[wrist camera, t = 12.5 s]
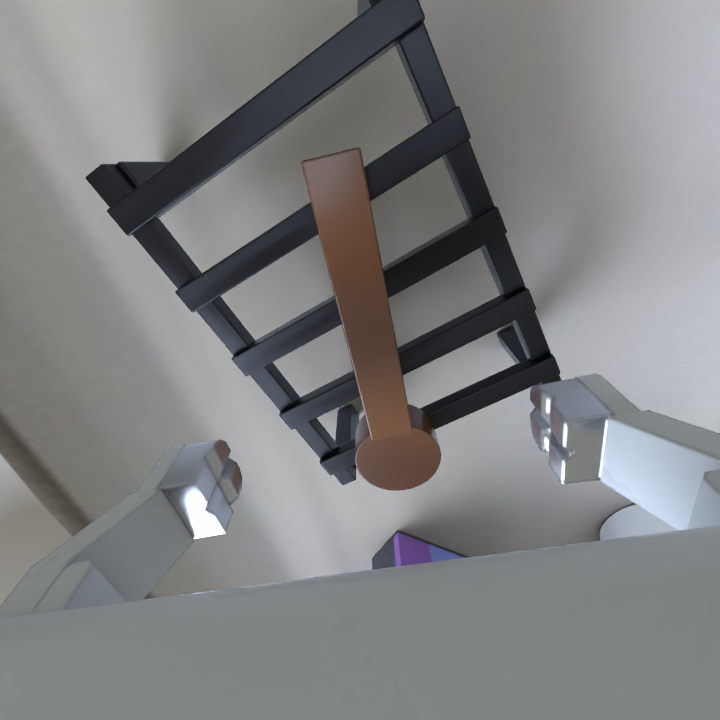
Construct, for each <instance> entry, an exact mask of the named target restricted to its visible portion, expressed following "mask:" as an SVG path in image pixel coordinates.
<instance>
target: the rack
mask: <svg viewBox="0 0 720 720" xmlns="http://www.w3.org/2000/svg"><path fill="white" fill-rule="evenodd" d="M424 19H425V16H424V13H423V10H422V8H421V5H420V3H419V0H358V17H357V18H356V19H354V20H353V21H352V22H350V23H349V24H348V25H347V26H345V27H344V28H343V29H341V30H340V31H339V32H337V33H336V34H335V35H334V36H332V37H331V38H330V39H328V40H327V41H326V42H325V43H323V44H322V45H321V46H319V47H318V48H317V49H315V50H314V51H313V52H312V53H310V54H309V55H308V56H306V57H305V58H304V59H302V60H301V61H300V62H299V63H297V64H296V65H295V66H293V67H292V68H291V69H289V70H288V71H287V72H286V73H284V74H283V75H282V76H280V77H279V78H278V79H276V80H275V81H274V82H273V83H271V84H270V85H269V86H267V87H266V88H265V89H263V90H262V91H261V92H260V93H258V94H257V95H256V96H254V97H253V98H252V99H251V100H249V101H248V102H247V103H245V104H244V105H243V106H241V107H240V108H239V109H238V110H236V111H235V112H234V113H232V114H231V115H230V116H228V117H227V118H226V119H225V120H223V121H222V122H221V123H219V124H218V125H217V126H215V127H214V128H213V129H212V130H210V131H209V132H208V133H206V134H205V135H204V136H202V137H201V138H200V139H199V140H197V141H196V142H195V143H193V144H192V145H191V146H189V147H188V148H187V149H186V150H184V151H183V152H182V153H180V154H179V155H178V156H177V157H175V158H174V159H173V160H171V161H170V162H118V163H117V164H101V165H100V166H99V167H97V168H96V169H95V170H94V171H93V172H91V173H90V174H89V175H88V176H86V179H87V181H88V182H89V183H90V184H91V185H92V187H93V188H94V189H95V190H96V191H97V193H98V194H99V195H100V196H101V197H102V199H103V200H104V201H105V202H106V203H107V204H108V206H109V207H110V208H109V209H108V210H107V212H108V213H109V214H110V216H111V217H112V218H113V219H114V220H115V222H116V223H117V224H118V225H119V226H120V227H121V229H122V230H123V231H124V232H125V233H126V235H128V236H130V235H133V236H134V237H135V238H136V239H137V240H138V242H139V243H140V244H141V245H142V246H143V247H144V249H145V250H146V251H147V252H148V253H149V255H150V256H151V257H152V258H153V259H154V261H155V262H156V263H157V264H158V265H159V267H160V268H161V269H162V270H163V271H164V273H165V274H166V275H167V276H168V277H169V279H170V280H171V281H172V282H173V283H174V284H175V286H176V287H177V288H178V290H176V294H177V295H178V296H179V297H180V299H181V300H182V301H183V302H184V303H185V304H186V306H187V307H188V308H189V309H190V310H191V312H195V311H197V312H198V313H199V314H200V316H201V317H202V318H203V319H204V320H205V322H206V323H207V324H208V325H209V326H210V327H211V329H212V330H213V331H214V332H215V333H216V335H217V336H218V337H219V338H220V339H221V341H222V342H223V343H224V344H225V345H226V347H227V348H228V349H229V350H230V351H231V353H232V354H233V355H234V356H233V358H232V360H233V361H234V363H235V364H236V365H237V366H238V367H239V369H240V370H241V371H242V372H243V373H244V374H245V376H248V375H251V376H252V378H253V379H254V380H255V381H256V382H257V384H258V385H259V386H260V387H261V388H262V390H263V391H264V392H265V393H266V394H267V396H268V397H269V398H270V399H271V400H272V402H273V403H274V404H275V405H276V406H277V408H278V409H279V410H280V414H279V415H280V417H281V418H282V419H283V420H284V421H285V423H286V424H287V425H288V426H289V427H290V429H294V428H295V429H296V430H297V431H298V433H299V434H300V435H301V436H302V437H303V439H304V440H305V441H306V442H307V443H308V445H309V446H310V447H311V448H312V449H313V451H314V452H315V453H316V454H317V455H318V456H319V458H320V464H321V465H322V466H323V468H324V469H325V470H326V471H327V472H328V473H329V475H332V474H334V476H335V477H336V478H337V479H338V480H339V482H340V483H341V484H342V485H344V484H347V483H349V482H351V481H354V480H356V468H357V467H356V463H355V433H356V428H357V425H358V423H359V415H358V413H357V412H356V411H355V409H354V408H353V406H352V405H349V406H347V407H345V408H343V409H341V410H339V411H338V417H337V428H336V440H335V441H334V440H333V438H332V437H331V436H330V435H329V433H328V432H327V431H326V430H325V428H324V427H323V426H322V424H321V423H320V422H319V421H318V419H317V417H319V416H321V415H323V414H325V413H327V412H329V411H331V410H333V409H335V408H337V407H339V406H341V405H343V404H345V403H347V402H349V401H351V400H353V399H355V398H357V397H359V396H360V393H359V389H358V385H357V381H356V377H355V373H354V371H352V372H350V373H348V374H346V375H344V376H342V377H340V378H338V379H336V380H334V381H332V382H330V383H328V384H326V385H324V386H322V387H320V388H318V389H316V390H314V391H313V392H311V393H309V394H307V395H305V396H303V397H301V398H300V397H299V395H298V394H297V393H296V392H295V390H294V389H293V388H292V386H291V385H290V384H289V383H288V381H287V380H286V379H285V378H284V376H283V375H282V374H281V373H280V371H279V370H278V369H277V367H276V366H275V365H274V364H273V361H275V360H277V359H279V358H281V357H282V356H284V355H286V354H288V353H290V352H292V351H293V350H295V349H297V348H299V347H301V346H302V345H304V344H306V343H308V342H310V341H312V340H313V339H315V338H317V337H319V336H321V335H322V334H324V333H326V332H328V331H330V330H331V329H333V328H335V327H337V326H339V325H341V324H342V322H341V318H340V314H339V310H338V307H337V303H336V299H335V295H334V296H333V297H331V298H329V299H327V300H326V301H324V302H322V303H320V304H319V305H317V306H315V307H313V308H312V309H310V310H308V311H306V312H305V313H303V314H301V315H299V316H298V317H296V318H294V319H293V320H291V321H289V322H287V323H286V324H284V325H282V326H280V327H279V328H277V329H275V330H273V331H272V332H270V333H268V334H266V335H265V336H263V337H261V338H260V339H258V340H256V341H255V340H254V338H253V337H252V336H251V335H250V333H249V332H248V331H247V330H246V328H245V327H244V326H243V324H242V323H241V322H240V321H239V319H238V318H237V317H236V316H235V314H234V313H233V312H232V311H231V309H230V308H229V307H228V305H227V304H226V303H225V302H224V300H223V299H222V298H221V297H220V296H221V295H222V294H224V293H225V292H227V291H229V290H230V289H232V288H233V287H235V286H236V285H238V284H240V283H241V282H243V281H244V280H246V279H248V278H249V277H251V276H252V275H254V274H256V273H257V272H259V271H260V270H262V269H264V268H265V267H267V266H268V265H270V264H271V263H273V262H275V261H276V260H278V259H279V258H281V257H283V256H284V255H286V254H287V253H289V252H291V251H292V250H294V249H295V248H297V247H299V246H300V245H302V244H303V243H305V242H306V241H308V240H310V239H311V238H313V237H314V236H316V235H318V234H319V232H318V228H317V224H316V220H315V216H314V212H313V208H312V204H311V202H310V203H309V204H307V205H305V206H304V207H302V208H301V209H299V210H298V211H296V212H295V213H293V214H292V215H290V216H289V217H287V218H286V219H284V220H283V221H281V222H280V223H278V224H277V225H275V226H273V227H272V228H270V229H269V230H267V231H266V232H264V233H263V234H261V235H260V236H258V237H257V238H255V239H254V240H252V241H251V242H249V243H248V244H246V245H245V246H243V247H241V248H240V249H238V250H237V251H235V252H234V253H232V254H231V255H229V256H228V257H226V258H225V259H223V260H222V261H220V262H219V263H217V264H216V265H214V266H213V267H211V268H210V269H208V270H206V271H205V272H203V273H201V271H200V270H199V269H198V268H197V266H196V265H195V264H194V262H193V261H192V260H191V259H190V257H189V256H188V255H187V254H186V252H185V251H184V250H183V249H182V247H181V246H180V245H179V243H178V242H177V241H176V240H175V238H174V237H173V236H172V235H171V233H170V232H169V231H168V230H167V228H166V227H165V226H164V224H163V223H162V222H161V221H160V219H159V217H160V216H162V215H163V214H165V213H166V212H167V211H169V210H170V209H171V208H173V207H174V206H175V205H177V204H178V203H180V202H181V201H182V200H184V199H185V198H186V197H188V196H189V195H191V194H192V193H193V192H195V191H196V190H197V189H199V188H200V187H202V186H203V185H204V184H206V183H207V182H208V181H210V180H211V179H212V178H214V177H215V176H217V175H218V174H219V173H221V172H222V171H223V170H225V169H226V168H228V167H229V166H230V165H232V164H233V163H234V162H236V161H237V160H239V159H240V158H241V157H243V156H244V155H245V154H247V153H248V152H250V151H251V150H252V149H254V148H255V147H256V146H258V145H259V144H260V143H262V142H263V141H265V140H266V139H267V138H269V137H270V136H271V135H273V134H274V133H276V132H277V131H278V130H280V129H281V128H282V127H284V126H285V125H287V124H288V123H289V122H291V121H292V120H293V119H295V118H296V117H298V116H299V115H300V114H302V113H303V112H304V111H306V110H307V109H308V108H310V107H311V106H313V105H314V104H315V103H317V102H318V101H319V100H321V99H322V98H324V97H325V96H326V95H328V94H329V93H330V92H332V91H333V90H335V89H336V88H337V87H339V86H340V85H341V84H343V83H344V82H346V81H347V80H348V79H350V78H351V77H352V76H354V75H355V74H356V73H358V72H359V71H361V70H362V69H363V68H365V67H366V66H367V65H369V64H370V63H372V62H373V61H374V60H376V59H377V58H378V57H380V56H381V55H383V54H384V53H385V52H387V51H388V50H389V49H391V48H392V47H393V46H396V49H397V51H398V53H399V56H400V58H401V61H402V63H403V65H404V68H405V70H406V72H407V75H408V77H409V79H410V82H411V84H412V87H413V89H414V91H415V94H416V96H417V98H418V101H419V103H420V106H421V108H422V110H423V113H424V115H425V117H426V120H427V122H428V125H427V126H426V127H424V128H423V129H421V130H420V131H418V132H417V133H415V134H414V135H412V136H411V137H409V138H407V139H406V140H404V141H403V142H401V143H400V144H398V145H397V146H395V147H394V148H392V149H391V150H389V151H388V152H386V153H385V154H383V155H382V156H380V157H379V158H377V159H376V160H374V161H372V162H371V163H369V164H368V165H366V166H365V167H364V171H365V176H366V182H367V187H368V193H369V198H370V201H372V200H373V199H375V198H376V197H378V196H380V195H381V194H383V193H384V192H386V191H388V190H389V189H391V188H392V187H394V186H396V185H397V184H399V183H400V182H402V181H404V180H405V179H407V178H408V177H410V176H411V175H413V174H415V173H416V172H418V171H419V170H421V169H423V168H424V167H426V166H427V165H429V164H431V163H432V162H434V161H435V160H437V159H439V158H440V157H442V158H443V160H444V162H445V165H446V167H447V170H448V172H449V174H450V177H451V179H452V181H453V184H454V186H455V189H456V191H457V193H458V196H459V198H460V200H461V203H462V205H463V208H464V210H465V212H466V215H467V217H468V219H466V220H465V221H463V222H461V223H459V224H458V225H456V226H454V227H453V228H451V229H449V230H447V231H446V232H444V233H442V234H440V235H439V236H437V237H435V238H433V239H432V240H430V241H428V242H426V243H425V244H423V245H421V246H419V247H418V248H416V249H414V250H413V251H411V252H409V253H407V254H406V255H404V256H402V257H400V258H399V259H397V260H395V261H393V262H392V263H390V264H388V265H386V266H385V267H383V274H384V279H385V284H386V290H387V295H388V298H390V297H391V296H393V295H395V294H397V293H399V292H400V291H402V290H404V289H406V288H408V287H410V286H411V285H413V284H415V283H417V282H419V281H420V280H422V279H424V278H426V277H428V276H430V275H431V274H433V273H435V272H437V271H439V270H440V269H442V268H444V267H446V266H448V265H450V264H451V263H453V262H455V261H457V260H459V259H460V258H462V257H464V256H466V255H468V254H469V253H471V252H473V251H475V250H477V249H479V248H481V250H482V253H483V255H484V257H485V260H486V262H487V264H488V267H489V269H490V272H491V274H492V276H493V279H494V281H495V283H496V286H497V288H498V291H499V293H500V296H498V297H496V298H494V299H492V300H490V301H489V302H487V303H485V304H483V305H481V306H479V307H477V308H475V309H473V310H471V311H469V312H467V313H465V314H463V315H461V316H459V317H457V318H455V319H453V320H451V321H449V322H447V323H445V324H444V325H442V326H440V327H438V328H436V329H434V330H432V331H430V332H428V333H426V334H424V335H422V336H420V337H418V338H416V339H414V340H412V341H410V342H408V343H406V344H404V345H402V346H401V347H399V348H397V349H398V355H399V360H400V365H401V371H402V375H404V374H406V373H408V372H410V371H412V370H414V369H417V368H419V367H421V366H423V365H425V364H427V363H429V362H431V361H433V360H435V359H437V358H439V357H441V356H443V355H445V354H447V353H449V352H451V351H453V350H455V349H457V348H459V347H461V346H463V345H465V344H468V343H470V342H472V341H474V340H476V339H478V338H480V337H482V336H484V335H486V334H488V333H490V332H492V331H494V330H496V329H498V328H500V327H502V326H504V325H506V324H508V323H510V322H512V324H513V326H512V327H510V328H508V329H505V330H503V331H501V332H499V333H498V334H497V335H498V337H499V339H500V342H501V344H502V346H503V348H504V349H505V350H506V351H507V353H508V354H509V355H510V357H511V358H512V359H513V360H514V362H515V363H516V365H514V366H511V367H509V368H507V369H505V370H503V371H501V372H498V373H496V374H494V375H492V376H490V377H488V378H485V379H483V380H481V381H479V382H477V383H475V384H472V385H470V386H468V387H466V388H464V389H462V390H459V391H457V392H455V393H453V394H451V395H449V396H446V397H444V398H442V399H440V400H438V401H435V402H433V403H431V404H429V405H427V406H425V407H422V408H420V410H422V411H423V412H424V413H426V414H427V415H428V417H429V418H430V419H431V421H432V423H433V426H434V429H437V428H439V427H441V426H443V425H446V424H448V423H450V422H452V421H455V420H457V419H459V418H461V417H464V416H466V415H468V414H471V413H473V412H475V411H477V410H480V409H482V408H484V407H486V406H489V405H491V404H493V403H495V402H498V401H500V400H502V399H505V398H507V397H509V396H511V395H514V394H516V393H518V392H520V391H523V390H525V389H527V388H529V387H532V386H535V385H540V384H546V383H551V382H557V381H561V378H560V375H559V374H560V370H559V367H558V365H557V362H556V359H555V357H554V356H553V355H552V354H551V352H550V349H549V347H548V344H547V342H546V339H545V336H544V334H543V331H542V329H541V326H540V323H539V321H538V318H537V316H536V313H535V310H536V307H535V304H534V302H533V299H532V296H531V294H530V291H529V289H528V288H526V287H525V284H524V282H523V279H522V277H521V274H520V271H519V269H518V266H517V264H516V261H515V258H514V256H513V253H512V251H511V248H510V245H509V243H508V240H507V238H506V235H505V234H506V233H507V230H506V228H505V225H504V223H503V220H502V217H501V215H500V212H499V209H498V207H495V206H494V204H493V201H492V199H491V196H490V193H489V191H488V188H487V186H486V183H485V180H484V178H483V175H482V173H481V170H480V167H479V165H478V162H477V160H476V157H475V154H474V152H473V149H472V147H471V144H470V141H469V139H470V134H469V131H468V128H467V126H466V123H465V120H464V118H463V115H462V113H461V110H460V107H459V106H457V107H456V105H455V102H454V100H453V97H452V95H451V92H450V89H449V87H448V84H447V82H446V79H445V76H444V74H443V71H442V69H441V66H440V63H439V61H438V58H437V56H436V53H435V50H434V48H433V45H432V43H431V40H430V37H429V35H428V32H427V30H426V27H425V24H424V22H423V21H424Z"/></svg>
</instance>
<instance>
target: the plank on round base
mask: <svg viewBox="0 0 720 720" xmlns="http://www.w3.org/2000/svg"><path fill="white" fill-rule="evenodd" d="M301 165H302V169H303V173H304V177H305V181H306V185H307V189H308V193H309V196H310V200H311V204H312V208H313V212H314V216H315V220H316V224H317V228H318V232H319V236H320V240H321V244H322V248H323V251H324V255H325V259H326V263H327V267H328V271H329V275H330V279H331V283H332V287H333V291H334V295H335V299H336V303H337V307H338V310H339V314H340V318H341V322H342V326H343V330H344V334H345V338H346V342H347V346H348V350H349V354H350V358H351V362H352V365H353V369H354V373H355V377H356V381H357V385H358V389H359V393H360V397H361V401H362V405H363V409H364V413H365V415H364V416H363V417H362V419H361V420H360V422H359V423H358V425H357V428H356V433H355V463H356V467H357V470H358V472H359V473H360V475H361V476H362V477H363V478H364V479H365V480H366V481H367V482H369V483H370V484H372V485H374V486H376V487H379V488H382V489H386V490H406V489H410V488H414V487H416V486H419V485H421V484H423V483H424V482H426V481H427V480H429V479H430V478H431V477H432V476H433V475H434V473H435V472H436V471H437V469H438V467H439V464H440V460H441V452H440V447H439V444H438V440H437V437H436V433H435V430H434V426H433V423H432V421H431V419H430V418H429V417H428V415H427V414H426V413H424V412H423V411H422V410H420V409H419V408H417V407H415V406H412V405H410V404H408V403H407V398H406V392H405V387H404V382H403V376H402V371H401V365H400V360H399V355H398V349H397V344H396V338H395V333H394V328H393V322H392V317H391V311H390V306H389V301H388V295H387V290H386V284H385V279H384V274H383V268H382V263H381V257H380V252H379V247H378V241H377V236H376V230H375V225H374V220H373V214H372V209H371V203H370V198H369V193H368V187H367V182H366V176H365V171H364V166H363V160H362V155H361V149H360V148H358V147H357V148H353V149H349V150H345V151H341V152H337V153H333V154H329V155H325V156H321V157H317V158H312V159H308V160H304V161H302V162H301Z"/></svg>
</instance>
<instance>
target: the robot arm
mask: <svg viewBox="0 0 720 720" xmlns="http://www.w3.org/2000/svg"><path fill="white" fill-rule="evenodd" d="M530 400H531V401H532V403H533V404H534V406H535V409H534V410H533V411H532V412H531V414H530V420H531V428H532V433H533V436H534V439H535V441H536V443H537V445H538V447H539V448H540V450H541V451H543V452H545V453H547V454H549V465H550V466H551V468H552V469H553V471H554V473H555V474H556V476H557V477H558V479H559V480H560V482H561V484H568V483H577V482H585V481H593V480H601V482H602V483H604V484H605V485H607V486H609V487H610V488H612V489H613V490H615V491H617V492H618V493H620V494H621V495H623V496H624V497H626V498H628V499H629V500H631V501H632V502H634V503H636V504H637V505H639V506H640V507H642V508H643V509H645V510H647V511H648V512H650V513H651V514H653V515H655V516H656V517H658V518H659V519H661V520H662V521H664V522H666V523H667V524H669V525H670V526H672V527H674V528H675V529H677V531H670V532H662V533H654V534H647V535H639V536H631V537H623V538H616V539H608V540H600V541H592V542H585V543H577V544H569V545H562V546H554V547H546V548H538V549H531V550H523V551H515V552H507V553H499V554H492V555H484V556H476V557H468V558H461V559H453V560H445V561H437V562H430V563H422V564H414V565H406V566H399V567H391V568H383V569H376V570H368V571H360V572H352V573H345V574H337V575H329V576H321V577H314V578H306V579H298V580H291V581H283V582H275V583H267V584H260V585H252V586H244V587H237V588H229V589H221V590H213V591H206V592H198V593H190V594H182V595H175V596H167V597H159V598H152V599H144V598H145V597H146V596H147V594H148V593H149V592H150V591H151V590H152V589H153V588H154V586H155V585H156V584H157V583H158V582H159V581H160V579H161V578H162V577H163V576H164V575H165V574H166V573H167V571H168V570H169V569H170V568H171V567H172V566H173V565H174V563H175V562H176V561H177V560H178V559H179V558H180V557H181V555H182V554H183V553H184V552H185V551H186V550H187V548H188V547H189V546H190V545H191V544H192V543H193V542H194V539H196V538H201V537H207V536H213V535H218V534H224V533H226V530H227V527H228V525H229V522H230V519H231V517H232V514H233V509H232V507H231V504H232V503H233V502H234V501H235V500H236V499H237V498H238V497H239V494H240V491H241V488H242V476H241V472H240V468H239V466H238V464H237V463H236V462H235V461H233V460H232V459H230V458H228V457H229V454H230V451H231V450H230V448H229V447H228V445H227V443H226V441H223V440H215V441H208V442H202V443H195V444H188V445H183V446H177V447H171V448H169V449H167V450H165V452H164V453H163V454H162V456H161V457H160V459H159V460H158V462H157V463H156V465H155V466H154V468H153V469H152V471H151V472H150V474H149V475H148V476H147V478H146V479H145V481H144V482H143V484H142V485H141V487H140V488H139V490H138V491H137V493H135V494H130V495H129V496H127V497H126V498H125V499H123V500H122V501H121V502H119V503H118V504H117V505H115V506H114V507H112V508H111V509H110V510H108V511H107V512H106V513H104V514H103V515H102V516H100V517H99V518H97V519H96V520H95V521H93V522H92V523H91V524H89V525H88V526H87V527H85V528H84V529H82V530H81V531H80V532H78V533H77V534H76V535H74V536H73V537H72V538H70V539H69V540H68V541H66V542H65V543H63V544H62V545H61V546H59V547H58V548H57V549H55V550H54V551H53V552H51V553H50V554H48V555H47V556H46V557H44V558H43V559H42V560H40V561H39V562H37V563H36V564H35V565H33V566H32V567H31V568H30V570H29V571H28V572H27V573H26V575H25V576H24V577H23V578H22V579H21V581H20V582H19V583H18V584H17V586H16V587H15V588H14V590H13V591H12V592H11V593H10V594H9V595H8V597H7V598H6V599H5V600H4V602H3V603H2V604H1V605H0V720H720V434H719V433H716V432H713V431H710V430H707V429H704V428H700V427H697V426H694V425H691V424H688V423H685V422H682V421H679V420H676V419H673V418H670V417H667V416H664V415H661V414H658V413H655V412H652V411H649V410H648V411H642V412H641V411H640V410H639V409H638V408H637V407H636V406H635V405H633V404H632V403H631V402H630V401H629V400H628V399H627V398H626V397H624V396H623V395H622V394H621V393H620V392H619V391H618V390H617V389H615V388H614V387H613V386H612V385H611V384H610V383H609V382H608V381H606V380H605V379H604V378H603V377H602V376H601V375H599V374H590V375H585V376H580V377H575V378H573V379H568V380H562V381H557V382H551V383H546V384H540V385H535V386H532V388H531V391H530ZM143 599H144V600H143Z"/></svg>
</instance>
